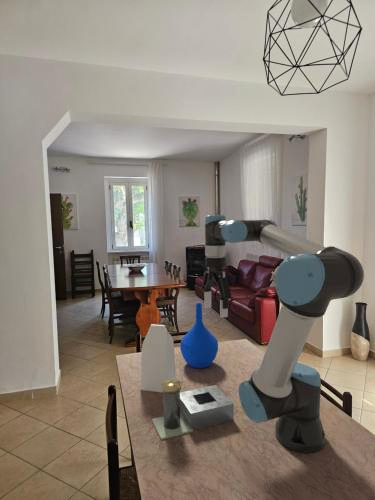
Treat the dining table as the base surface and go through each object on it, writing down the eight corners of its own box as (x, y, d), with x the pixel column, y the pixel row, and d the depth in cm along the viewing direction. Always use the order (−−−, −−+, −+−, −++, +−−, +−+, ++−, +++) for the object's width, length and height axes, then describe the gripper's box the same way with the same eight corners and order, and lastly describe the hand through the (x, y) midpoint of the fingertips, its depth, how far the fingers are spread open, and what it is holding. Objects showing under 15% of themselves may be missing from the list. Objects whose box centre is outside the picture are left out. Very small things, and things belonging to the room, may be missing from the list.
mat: (193, 431, 109) (193, 429, 109) (161, 439, 105) (161, 438, 105) (181, 413, 119) (181, 411, 119) (151, 420, 115) (151, 418, 115)
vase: (186, 374, 149) (185, 310, 146) (176, 358, 166) (175, 300, 164) (223, 369, 154) (223, 307, 151) (210, 354, 171) (210, 298, 169)
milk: (140, 389, 136) (139, 328, 134) (150, 377, 147) (149, 320, 145) (168, 393, 133) (167, 330, 131) (176, 379, 144) (175, 321, 142)
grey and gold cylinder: (184, 427, 110) (184, 386, 109) (165, 432, 108) (165, 390, 106) (177, 416, 116) (177, 378, 115) (159, 421, 114) (159, 381, 112)
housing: (233, 419, 115) (233, 403, 114) (191, 430, 109) (190, 413, 109) (215, 399, 128) (215, 385, 127) (176, 408, 122) (176, 393, 122)
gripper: (241, 259, 113) (241, 320, 115) (210, 253, 136) (210, 303, 138) (221, 260, 110) (221, 322, 112) (193, 254, 133) (193, 305, 135)
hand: (215, 312), depth 125 cm, fingers open, 13 cm apart
